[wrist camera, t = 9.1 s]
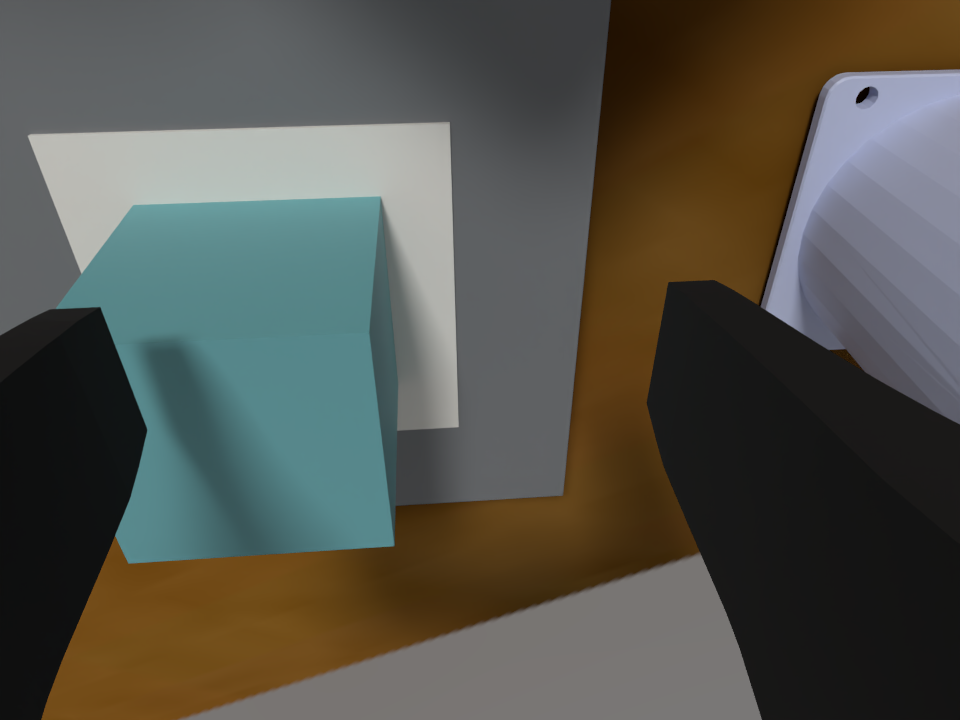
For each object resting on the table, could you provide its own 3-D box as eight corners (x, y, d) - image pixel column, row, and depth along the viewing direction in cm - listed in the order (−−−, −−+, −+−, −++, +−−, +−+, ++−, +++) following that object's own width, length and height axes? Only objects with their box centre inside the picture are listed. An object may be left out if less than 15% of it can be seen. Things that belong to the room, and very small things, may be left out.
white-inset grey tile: (583, -74, 15) (617, -56, 12) (546, 426, 23) (563, 497, 21) (-122, -65, 14) (-238, -43, 11) (107, 451, 22) (68, 528, 20)
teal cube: (380, 196, 15) (369, 332, 11) (398, 384, 18) (394, 545, 14) (132, 204, 14) (25, 348, 10) (194, 395, 17) (128, 563, 13)
